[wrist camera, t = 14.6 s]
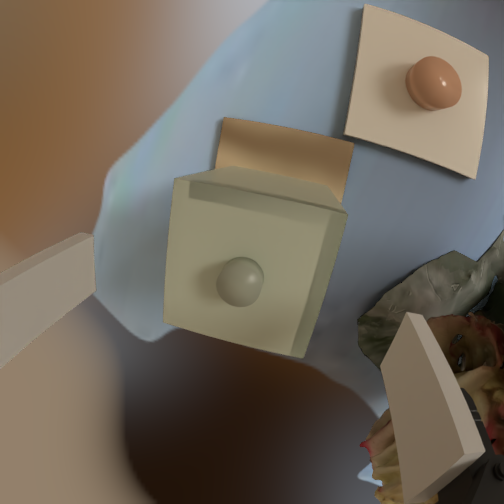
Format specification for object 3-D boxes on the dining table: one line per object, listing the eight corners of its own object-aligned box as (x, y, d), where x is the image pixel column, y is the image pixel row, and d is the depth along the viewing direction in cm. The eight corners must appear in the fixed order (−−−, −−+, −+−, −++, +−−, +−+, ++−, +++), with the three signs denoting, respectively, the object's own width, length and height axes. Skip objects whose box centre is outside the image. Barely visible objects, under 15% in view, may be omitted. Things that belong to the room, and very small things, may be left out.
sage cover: (233, 165, 25) (163, 181, 12) (327, 185, 24) (352, 220, 11) (218, 253, 27) (154, 333, 15) (305, 273, 27) (302, 372, 14)
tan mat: (225, 117, 24) (223, 117, 23) (353, 143, 23) (354, 143, 22) (200, 284, 29) (198, 287, 29) (309, 311, 28) (309, 314, 28)
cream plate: (362, 8, 18) (369, -9, 15) (483, 58, 17) (501, 50, 14) (342, 134, 23) (349, 132, 20) (470, 178, 21) (488, 183, 18)
